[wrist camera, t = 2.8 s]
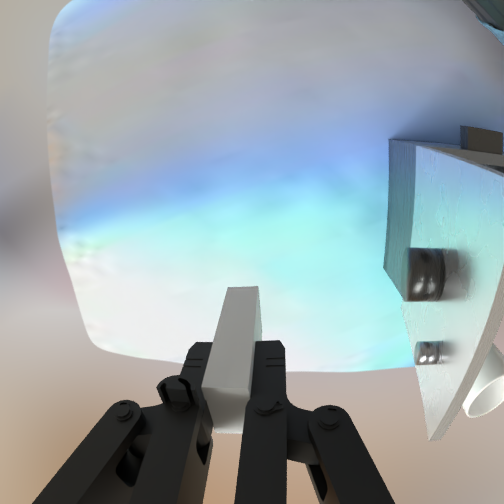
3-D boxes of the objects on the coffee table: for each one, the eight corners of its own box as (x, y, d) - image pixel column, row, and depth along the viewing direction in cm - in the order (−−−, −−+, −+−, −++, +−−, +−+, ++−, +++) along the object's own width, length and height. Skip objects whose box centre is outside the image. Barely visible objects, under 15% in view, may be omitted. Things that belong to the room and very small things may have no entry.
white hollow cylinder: (457, 285, 32) (518, 361, 19) (466, 319, 34) (516, 393, 20) (414, 313, 34) (462, 400, 20) (427, 344, 36) (467, 426, 22)
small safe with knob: (388, 119, 26) (423, 120, 18) (491, 132, 24) (536, 140, 17) (381, 283, 33) (404, 324, 26) (475, 274, 31) (507, 307, 24)
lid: (425, 146, 19) (391, 144, 20) (532, 185, 7) (470, 177, 7) (409, 308, 25) (379, 307, 25) (440, 440, 12) (396, 444, 13)
